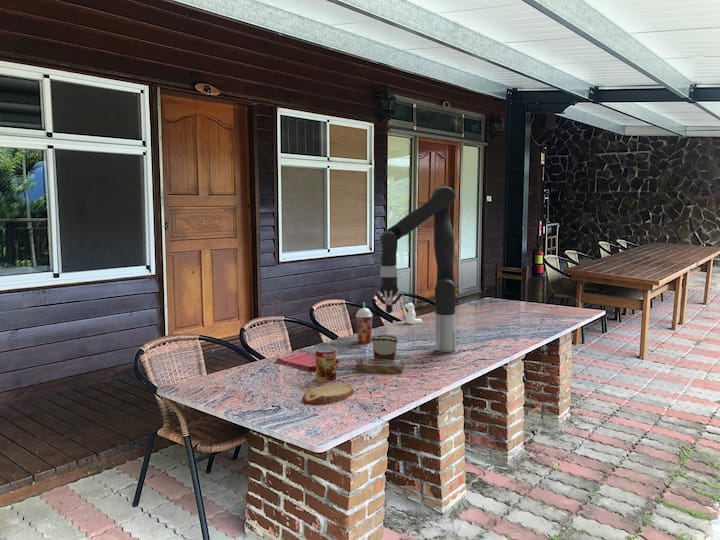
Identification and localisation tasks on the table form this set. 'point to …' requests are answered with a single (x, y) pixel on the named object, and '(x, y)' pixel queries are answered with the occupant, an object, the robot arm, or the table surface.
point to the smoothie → (364, 324)
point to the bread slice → (327, 394)
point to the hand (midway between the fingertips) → (389, 312)
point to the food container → (384, 347)
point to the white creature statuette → (411, 315)
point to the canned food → (325, 364)
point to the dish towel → (300, 361)
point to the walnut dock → (379, 367)
